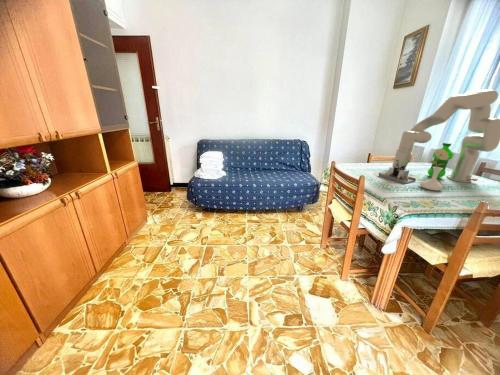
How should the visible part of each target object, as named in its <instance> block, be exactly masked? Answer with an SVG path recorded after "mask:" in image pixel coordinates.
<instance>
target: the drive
mask: <svg viewBox="0 0 500 375" xmlns="http://www.w3.org/2000/svg"><path fill="white" fill-rule="evenodd" d="M397 168H398V167H397ZM393 169H394V168H393V167H392V166H390V167H389V169H388V171H389V172H388V173H390V174H389V175H391V176H394V175H392V174H393ZM398 171H399V172H398V175H399V176H400V178H401V179H403V178H407V176H409V173H410V169H407V168H405V169H404V168H399V170H398ZM398 175H397V176H394V177H398Z"/></svg>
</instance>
